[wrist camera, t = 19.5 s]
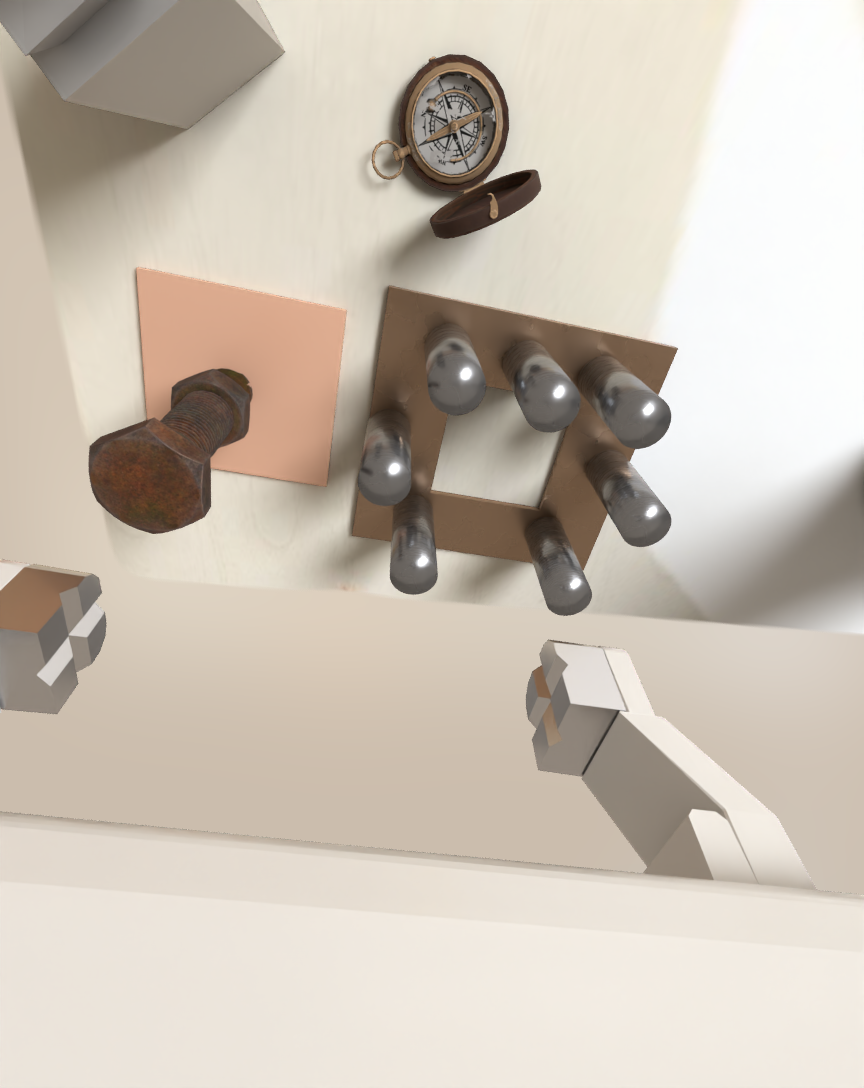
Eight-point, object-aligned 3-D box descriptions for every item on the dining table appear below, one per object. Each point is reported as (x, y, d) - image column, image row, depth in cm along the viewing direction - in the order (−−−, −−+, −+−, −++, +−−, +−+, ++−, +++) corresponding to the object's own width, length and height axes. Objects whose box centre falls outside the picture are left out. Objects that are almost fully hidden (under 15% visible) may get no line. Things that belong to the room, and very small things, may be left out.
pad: (346, 310, 37) (346, 311, 37) (326, 484, 44) (326, 486, 43) (138, 267, 35) (136, 267, 35) (151, 455, 42) (149, 458, 42)
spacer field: (676, 347, 39) (740, 387, 31) (582, 567, 49) (614, 638, 41) (387, 285, 36) (382, 312, 29) (351, 532, 46) (340, 600, 39)
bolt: (265, 433, 41) (202, 545, 28) (194, 420, 40) (96, 530, 28) (269, 352, 38) (200, 439, 25) (191, 337, 37) (81, 419, 25)
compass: (484, 31, 30) (503, -8, 24) (528, 193, 34) (555, 196, 28) (349, 104, 31) (334, 86, 25) (407, 251, 35) (407, 266, 29)
